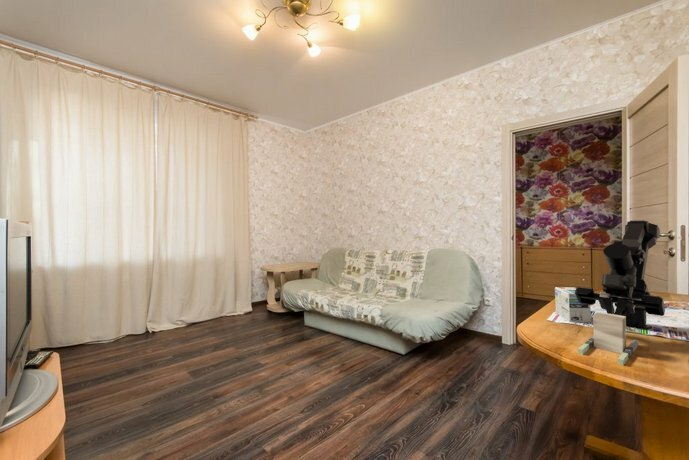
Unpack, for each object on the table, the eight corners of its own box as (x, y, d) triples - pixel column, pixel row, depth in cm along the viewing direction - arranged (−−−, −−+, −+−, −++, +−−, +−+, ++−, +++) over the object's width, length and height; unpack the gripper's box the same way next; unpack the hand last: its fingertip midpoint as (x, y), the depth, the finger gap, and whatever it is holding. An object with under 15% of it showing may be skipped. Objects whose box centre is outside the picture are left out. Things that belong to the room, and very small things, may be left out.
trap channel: (597, 339, 92) (597, 332, 92) (638, 348, 85) (638, 340, 85) (578, 357, 81) (578, 348, 81) (623, 369, 74) (623, 360, 74)
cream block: (598, 343, 87) (597, 311, 87) (626, 349, 82) (625, 316, 82) (593, 347, 85) (593, 314, 84) (622, 354, 80) (622, 319, 80)
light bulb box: (591, 325, 103) (591, 293, 103) (569, 325, 105) (568, 293, 104) (574, 315, 114) (574, 286, 113) (554, 315, 115) (553, 286, 115)
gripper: (576, 260, 95) (564, 302, 88) (662, 266, 80) (655, 317, 74) (584, 281, 100) (573, 323, 93) (667, 290, 85) (661, 341, 79)
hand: (611, 325), depth 85 cm, fingers closed, pressing on cream block
